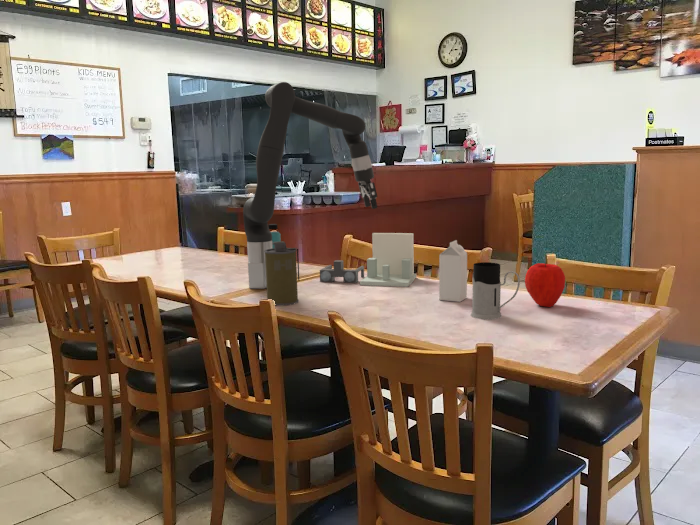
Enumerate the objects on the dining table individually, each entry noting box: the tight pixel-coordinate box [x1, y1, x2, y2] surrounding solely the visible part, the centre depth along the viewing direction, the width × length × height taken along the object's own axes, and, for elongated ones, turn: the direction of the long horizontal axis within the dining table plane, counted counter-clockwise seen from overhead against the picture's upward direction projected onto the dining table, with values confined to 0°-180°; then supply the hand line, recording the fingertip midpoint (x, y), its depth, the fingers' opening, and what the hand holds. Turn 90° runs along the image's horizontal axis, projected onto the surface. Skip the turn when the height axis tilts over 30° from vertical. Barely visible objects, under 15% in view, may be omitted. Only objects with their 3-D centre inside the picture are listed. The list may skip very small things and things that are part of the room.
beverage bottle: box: [268, 223, 282, 248], centre depth 248 cm, size 6×7×20 cm
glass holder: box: [470, 261, 521, 320], centre depth 162 cm, size 9×14×15 cm, turn 51°
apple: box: [524, 262, 566, 308], centre depth 174 cm, size 12×12×13 cm
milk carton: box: [438, 239, 468, 303], centre depth 185 cm, size 7×7×19 cm
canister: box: [264, 240, 300, 307], centre depth 187 cm, size 11×10×20 cm
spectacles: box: [319, 259, 365, 284], centre depth 223 cm, size 12×14×8 cm
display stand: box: [359, 232, 417, 288], centre depth 216 cm, size 18×18×18 cm
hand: (371, 207), depth 230 cm, fingers open, 8 cm apart
